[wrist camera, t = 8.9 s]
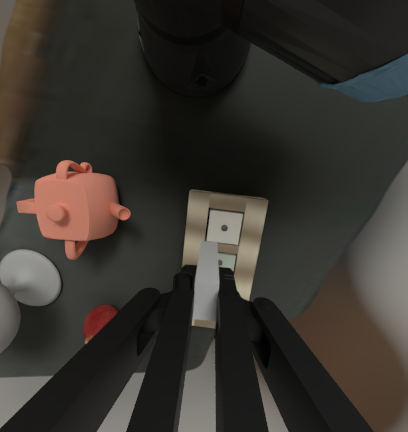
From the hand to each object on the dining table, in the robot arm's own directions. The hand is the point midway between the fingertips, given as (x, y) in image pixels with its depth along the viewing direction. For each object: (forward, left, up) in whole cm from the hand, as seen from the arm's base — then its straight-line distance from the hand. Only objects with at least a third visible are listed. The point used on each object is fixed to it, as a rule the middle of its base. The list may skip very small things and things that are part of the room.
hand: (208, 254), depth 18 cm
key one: (-1, +2, -15) cm, 15 cm away
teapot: (+9, -16, -15) cm, 24 cm away
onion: (+26, -4, -15) cm, 31 cm away
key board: (+5, +6, -15) cm, 17 cm away
